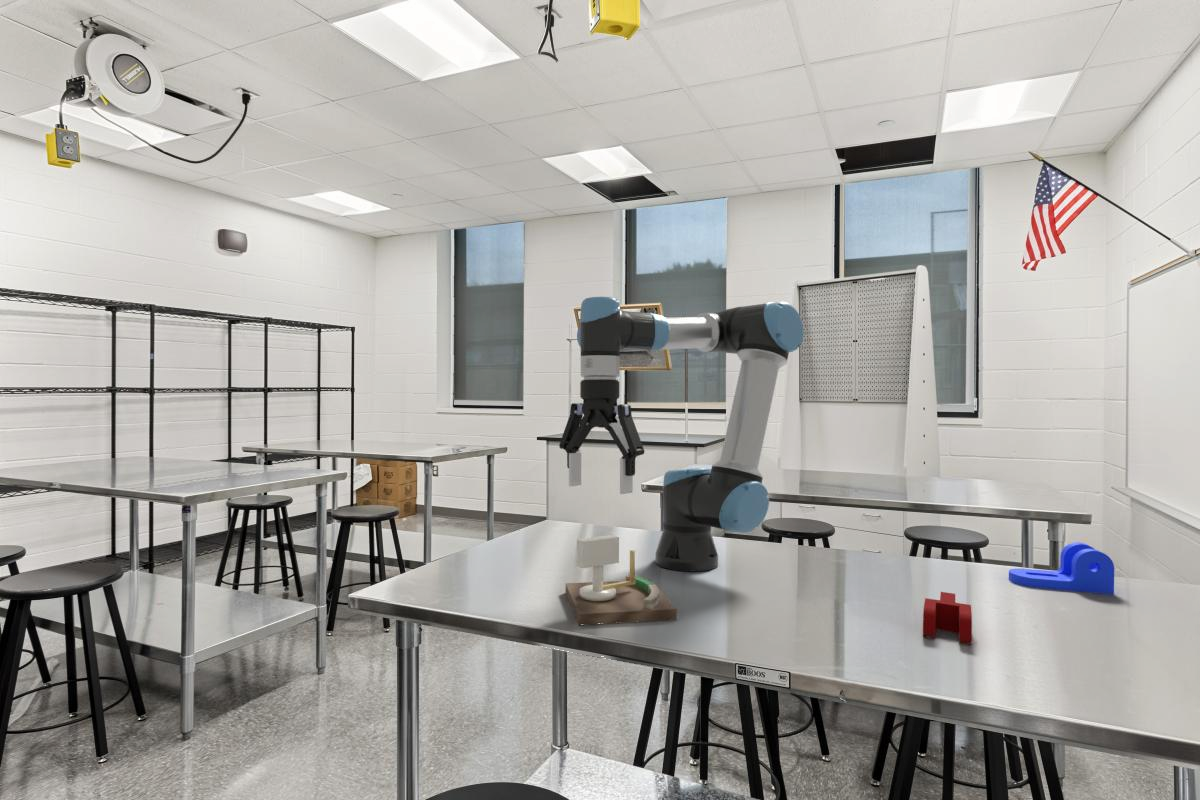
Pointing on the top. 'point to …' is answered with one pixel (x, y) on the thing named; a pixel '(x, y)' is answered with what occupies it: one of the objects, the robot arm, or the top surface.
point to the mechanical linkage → (947, 617)
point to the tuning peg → (601, 565)
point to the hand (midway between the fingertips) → (599, 489)
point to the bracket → (1072, 572)
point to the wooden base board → (622, 604)
